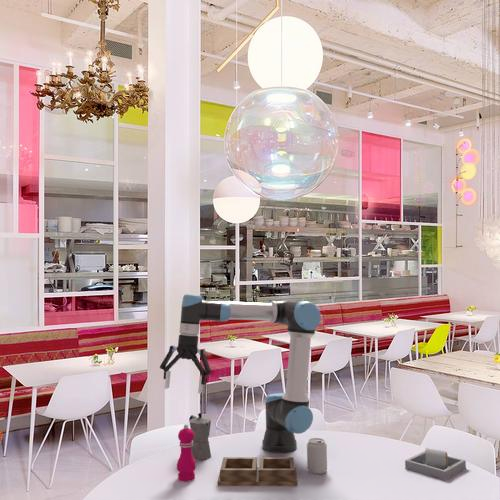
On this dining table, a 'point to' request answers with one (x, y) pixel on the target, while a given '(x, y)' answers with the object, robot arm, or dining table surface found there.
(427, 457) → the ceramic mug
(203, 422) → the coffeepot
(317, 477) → the dining table surface
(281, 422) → the robot arm
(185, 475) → the pepper mill
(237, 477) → the wooden divided tray
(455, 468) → the frame
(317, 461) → the can
